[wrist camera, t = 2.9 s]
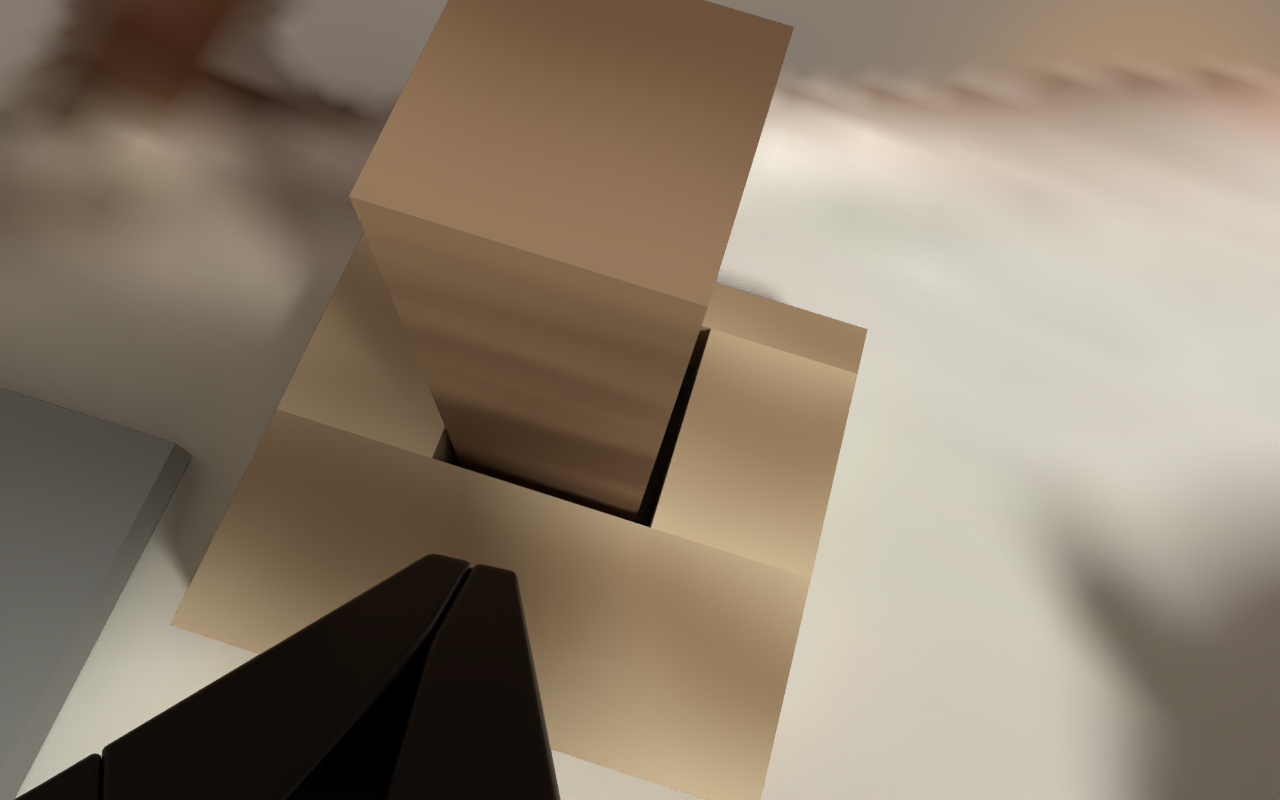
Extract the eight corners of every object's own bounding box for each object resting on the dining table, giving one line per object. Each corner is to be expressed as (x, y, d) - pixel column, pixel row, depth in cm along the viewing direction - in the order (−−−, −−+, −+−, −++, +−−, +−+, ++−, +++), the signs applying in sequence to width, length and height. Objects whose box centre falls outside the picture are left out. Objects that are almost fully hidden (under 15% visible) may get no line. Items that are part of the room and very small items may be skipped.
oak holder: (734, 804, 16) (756, 816, 14) (217, 635, 16) (170, 625, 14) (837, 368, 19) (867, 329, 17) (405, 234, 19) (387, 182, 17)
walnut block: (631, 530, 17) (707, 306, 8) (466, 477, 17) (349, 196, 8) (679, 376, 19) (794, 26, 9) (524, 328, 19) (481, -66, 9)
